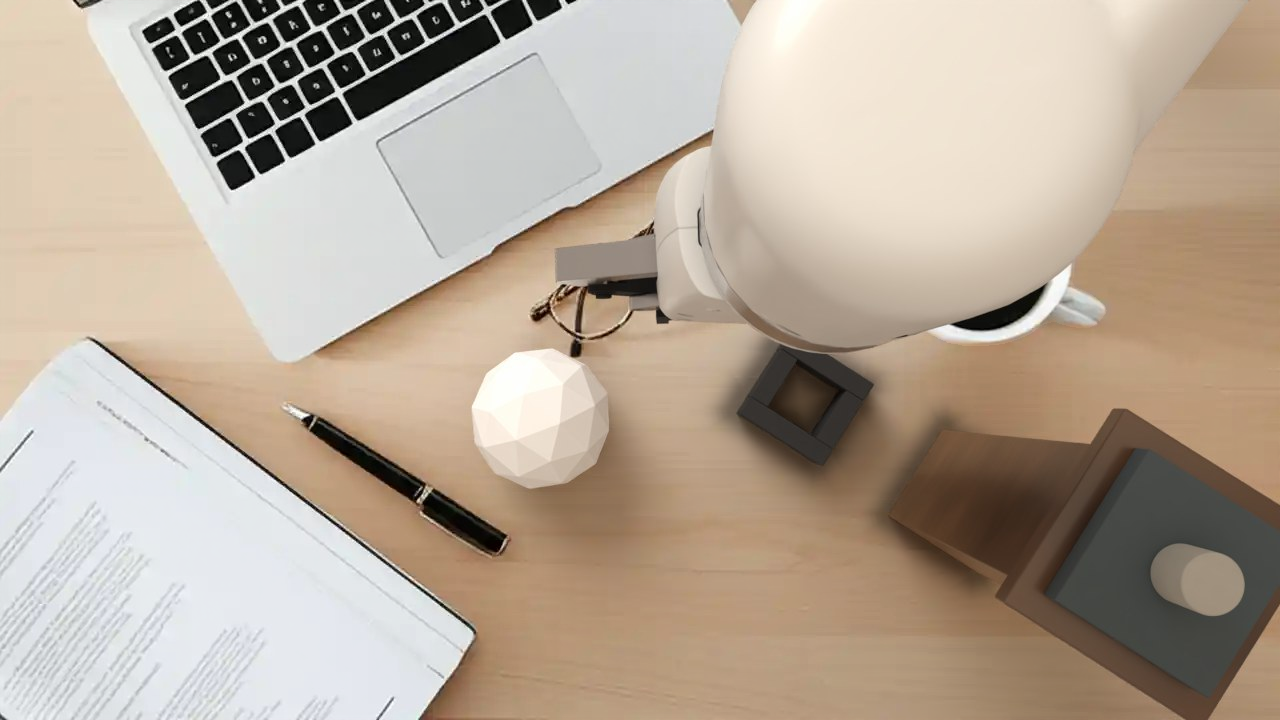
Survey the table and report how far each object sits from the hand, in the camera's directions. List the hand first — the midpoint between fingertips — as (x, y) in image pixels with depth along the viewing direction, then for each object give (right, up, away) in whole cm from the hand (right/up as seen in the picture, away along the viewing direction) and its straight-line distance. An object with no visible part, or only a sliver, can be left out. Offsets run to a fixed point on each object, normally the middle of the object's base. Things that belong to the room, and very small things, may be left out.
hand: (777, 283), depth 49 cm
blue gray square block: (+12, -10, -9) cm, 18 cm away
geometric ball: (-11, -7, +20) cm, 24 cm away
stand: (+13, -12, +19) cm, 26 cm away
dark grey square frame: (+4, -6, +19) cm, 21 cm away
